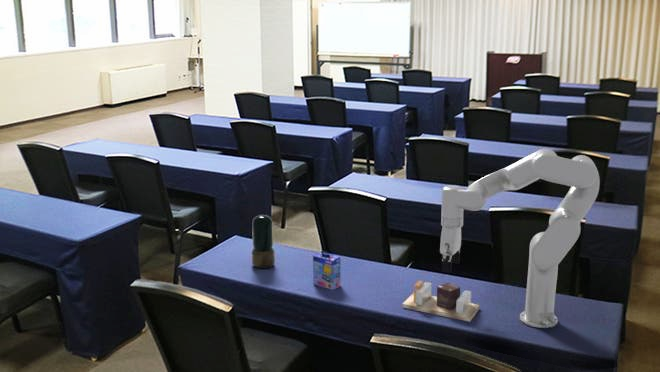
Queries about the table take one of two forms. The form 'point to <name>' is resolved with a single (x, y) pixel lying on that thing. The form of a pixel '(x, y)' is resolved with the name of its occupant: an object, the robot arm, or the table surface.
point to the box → (447, 295)
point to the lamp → (262, 242)
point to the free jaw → (422, 292)
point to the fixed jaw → (463, 302)
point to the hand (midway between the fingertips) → (450, 267)
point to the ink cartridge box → (326, 270)
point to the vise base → (440, 308)
